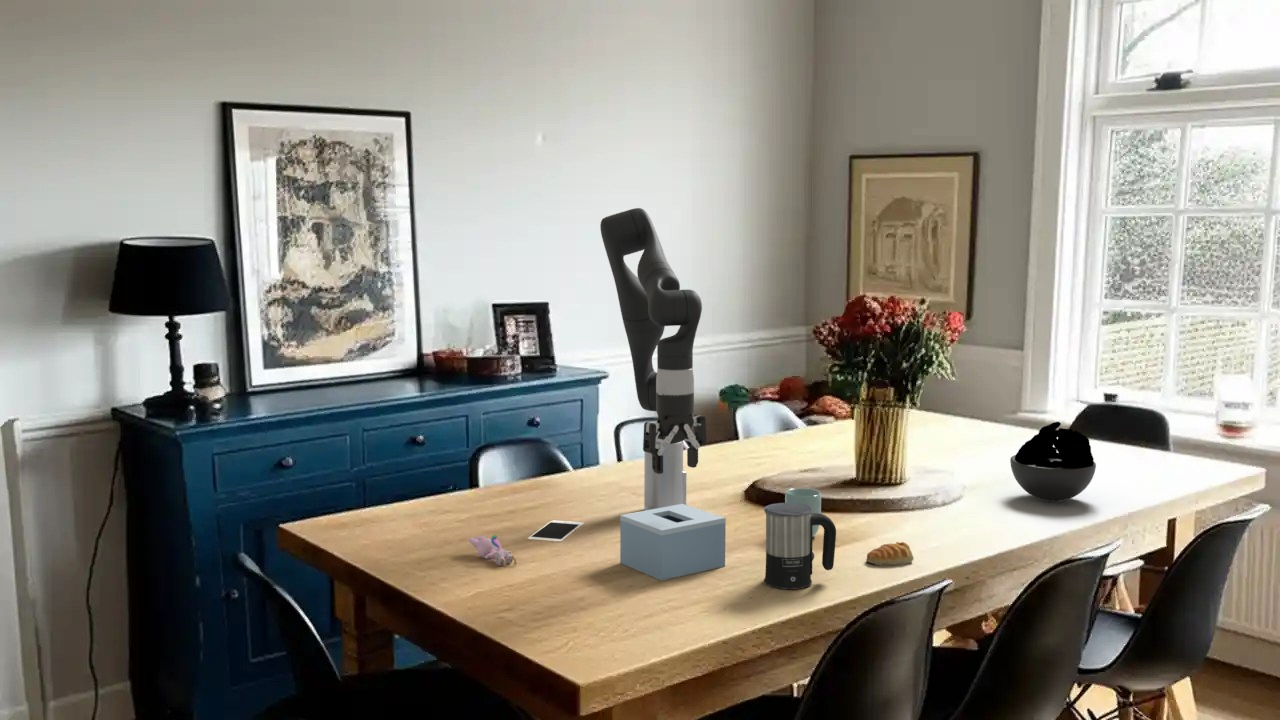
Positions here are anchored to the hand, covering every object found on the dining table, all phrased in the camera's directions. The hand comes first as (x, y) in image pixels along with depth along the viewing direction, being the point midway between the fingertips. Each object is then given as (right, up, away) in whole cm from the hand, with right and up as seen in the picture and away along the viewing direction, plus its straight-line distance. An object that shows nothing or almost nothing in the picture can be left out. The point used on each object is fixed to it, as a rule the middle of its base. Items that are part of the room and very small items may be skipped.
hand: (675, 470), depth 235 cm
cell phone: (-26, -17, +27) cm, 41 cm away
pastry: (+44, -20, +5) cm, 49 cm away
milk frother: (+22, -21, -5) cm, 31 cm away
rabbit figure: (-38, -19, +6) cm, 43 cm away
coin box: (-1, -19, +3) cm, 20 cm away
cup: (+29, -17, +23) cm, 41 cm away
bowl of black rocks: (+95, -13, +56) cm, 111 cm away
